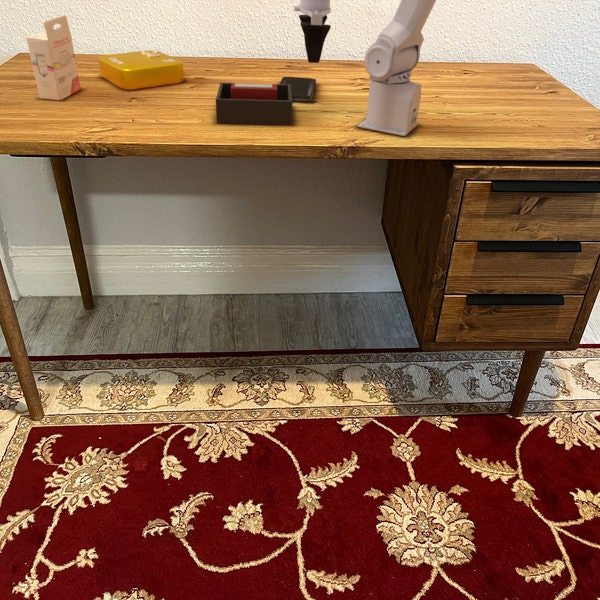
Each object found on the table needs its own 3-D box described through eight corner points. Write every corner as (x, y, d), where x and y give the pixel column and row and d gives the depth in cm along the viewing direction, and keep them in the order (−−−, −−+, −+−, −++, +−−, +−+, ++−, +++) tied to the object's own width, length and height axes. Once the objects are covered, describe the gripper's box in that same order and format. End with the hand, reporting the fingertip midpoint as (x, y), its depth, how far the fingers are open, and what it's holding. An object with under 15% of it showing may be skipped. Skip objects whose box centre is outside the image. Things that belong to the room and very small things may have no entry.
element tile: (97, 75, 137) (94, 53, 134) (157, 67, 144) (155, 46, 142) (125, 91, 127) (122, 68, 124) (187, 82, 135) (186, 60, 132)
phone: (316, 78, 137) (311, 96, 125) (316, 83, 138) (311, 102, 125) (282, 76, 137) (274, 94, 125) (282, 81, 138) (274, 99, 126)
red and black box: (277, 110, 119) (277, 83, 116) (277, 115, 116) (278, 88, 113) (232, 109, 118) (231, 82, 115) (231, 114, 115) (230, 87, 112)
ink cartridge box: (60, 87, 128) (45, 12, 119) (81, 89, 127) (68, 14, 118) (37, 98, 121) (21, 20, 112) (60, 101, 120) (45, 22, 111)
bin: (290, 106, 123) (290, 84, 120) (291, 125, 113) (292, 101, 110) (221, 104, 122) (220, 82, 119) (216, 123, 112) (215, 99, 110)
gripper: (293, -25, 117) (291, 49, 124) (296, -15, 105) (293, 66, 113) (329, -23, 117) (325, 50, 125) (335, -13, 105) (330, 67, 113)
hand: (312, 57), depth 119 cm, fingers open, 7 cm apart
